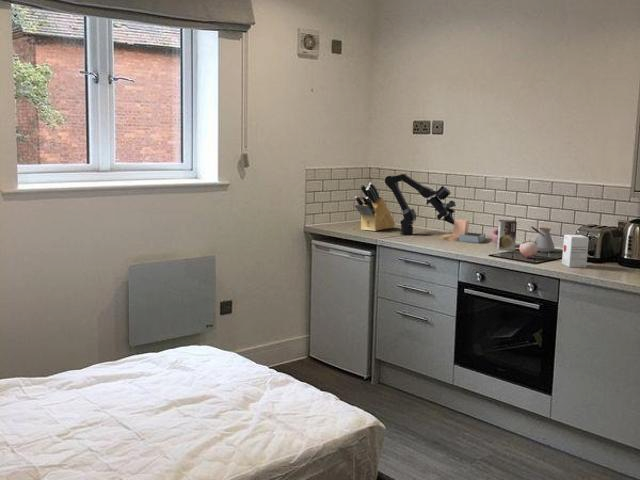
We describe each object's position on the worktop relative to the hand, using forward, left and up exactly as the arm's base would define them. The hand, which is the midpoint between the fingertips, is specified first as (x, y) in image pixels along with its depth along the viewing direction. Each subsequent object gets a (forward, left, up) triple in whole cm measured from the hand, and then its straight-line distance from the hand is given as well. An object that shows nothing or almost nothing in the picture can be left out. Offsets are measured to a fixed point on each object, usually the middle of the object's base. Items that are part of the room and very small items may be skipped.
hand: (455, 224), depth 428 cm
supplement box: (+10, -90, -9) cm, 91 cm away
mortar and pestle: (+14, -27, -9) cm, 32 cm away
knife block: (-30, +47, -9) cm, 57 cm away
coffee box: (+8, -39, -9) cm, 41 cm away
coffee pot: (+20, -52, -9) cm, 56 cm away
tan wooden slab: (-1, +1, -9) cm, 9 cm away
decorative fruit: (+1, -67, -9) cm, 67 cm away
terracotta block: (+2, -3, -7) cm, 8 cm away
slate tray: (+7, -8, -9) cm, 14 cm away
